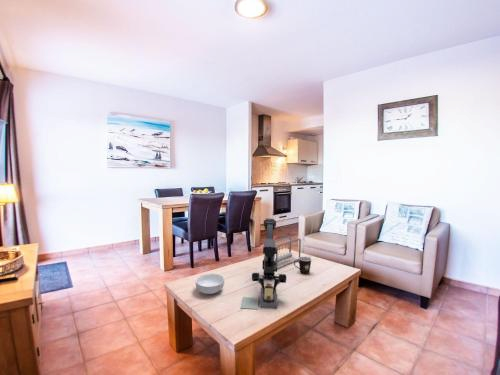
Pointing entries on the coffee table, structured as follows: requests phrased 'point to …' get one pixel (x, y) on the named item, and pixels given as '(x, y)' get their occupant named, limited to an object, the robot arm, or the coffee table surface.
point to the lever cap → (268, 294)
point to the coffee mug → (304, 265)
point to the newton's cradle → (287, 252)
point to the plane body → (268, 304)
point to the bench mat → (249, 303)
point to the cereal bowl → (210, 283)
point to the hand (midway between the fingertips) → (268, 293)
